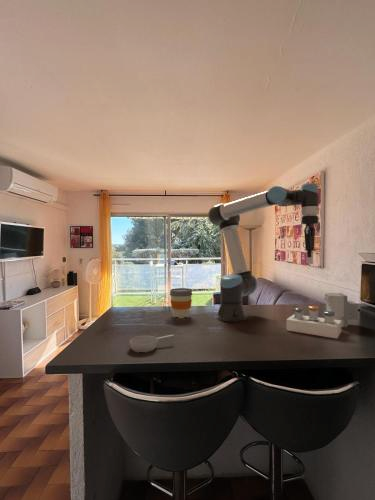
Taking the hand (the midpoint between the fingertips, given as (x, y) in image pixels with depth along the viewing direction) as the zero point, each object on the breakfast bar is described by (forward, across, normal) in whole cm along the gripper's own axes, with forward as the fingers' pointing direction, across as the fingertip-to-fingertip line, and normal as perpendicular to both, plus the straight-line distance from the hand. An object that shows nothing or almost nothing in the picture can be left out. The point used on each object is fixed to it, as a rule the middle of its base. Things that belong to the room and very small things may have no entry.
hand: (309, 263), depth 137 cm
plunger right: (+30, -9, -10) cm, 32 cm away
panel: (+30, -9, -4) cm, 32 cm away
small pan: (+31, -66, +44) cm, 85 cm away
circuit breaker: (+31, +9, -13) cm, 34 cm away
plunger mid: (+28, -9, -4) cm, 30 cm away
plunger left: (+30, -9, +3) cm, 31 cm away
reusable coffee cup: (+31, -21, +64) cm, 74 cm away
